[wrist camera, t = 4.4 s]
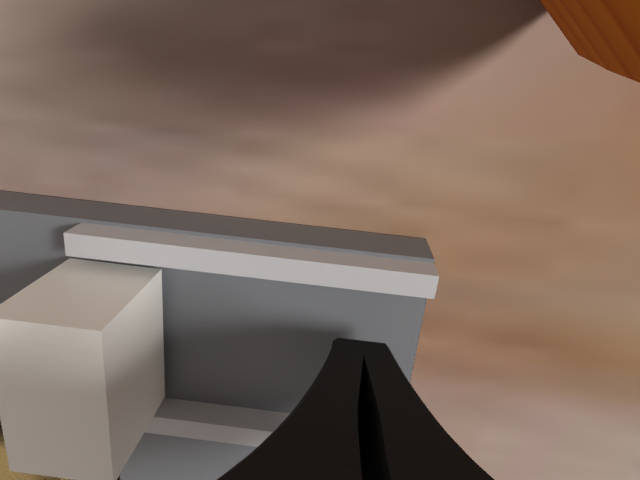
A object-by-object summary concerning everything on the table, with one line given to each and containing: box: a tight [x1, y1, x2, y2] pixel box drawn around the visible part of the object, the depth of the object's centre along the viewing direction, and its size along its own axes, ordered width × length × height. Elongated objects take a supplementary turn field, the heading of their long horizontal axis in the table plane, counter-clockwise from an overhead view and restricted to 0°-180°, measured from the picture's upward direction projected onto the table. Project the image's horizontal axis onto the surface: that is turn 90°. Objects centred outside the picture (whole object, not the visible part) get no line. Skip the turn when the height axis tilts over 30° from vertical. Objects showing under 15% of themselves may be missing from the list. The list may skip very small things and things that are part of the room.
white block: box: [0, 258, 165, 480], centre depth 11 cm, size 4×2×3 cm, turn 175°
